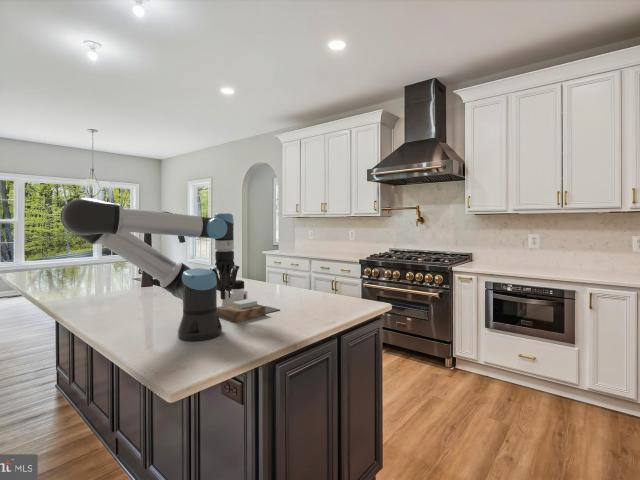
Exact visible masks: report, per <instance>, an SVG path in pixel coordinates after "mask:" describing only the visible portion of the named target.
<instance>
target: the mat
mask: <svg viewBox="0 0 640 480" xmlns="http://www.w3.org/2000/svg"><path fill="white" fill-rule="evenodd" d="M264 306H265V305H264ZM265 311H266V314H271V313H274V312H278V311H279V312H280V311H281V309H279V308H276V307H272V306H267V305H266V306H265Z"/></svg>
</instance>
